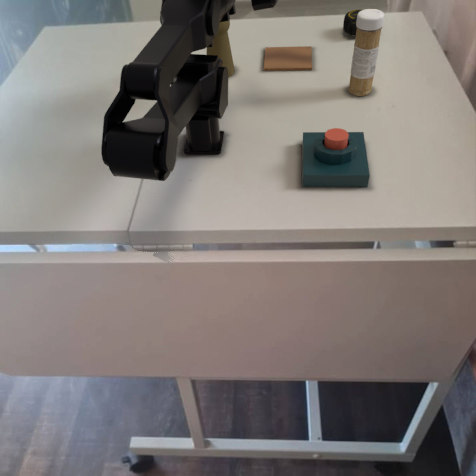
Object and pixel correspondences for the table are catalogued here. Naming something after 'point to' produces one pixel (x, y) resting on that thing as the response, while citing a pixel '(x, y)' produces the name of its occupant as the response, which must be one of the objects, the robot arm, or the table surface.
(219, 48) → the pepper shaker
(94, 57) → the table surface
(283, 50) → the coaster
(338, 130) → the red button cap
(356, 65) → the sprinkles bottle
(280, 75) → the table surface
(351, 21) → the tape measure
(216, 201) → the table surface
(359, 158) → the teal push button base
